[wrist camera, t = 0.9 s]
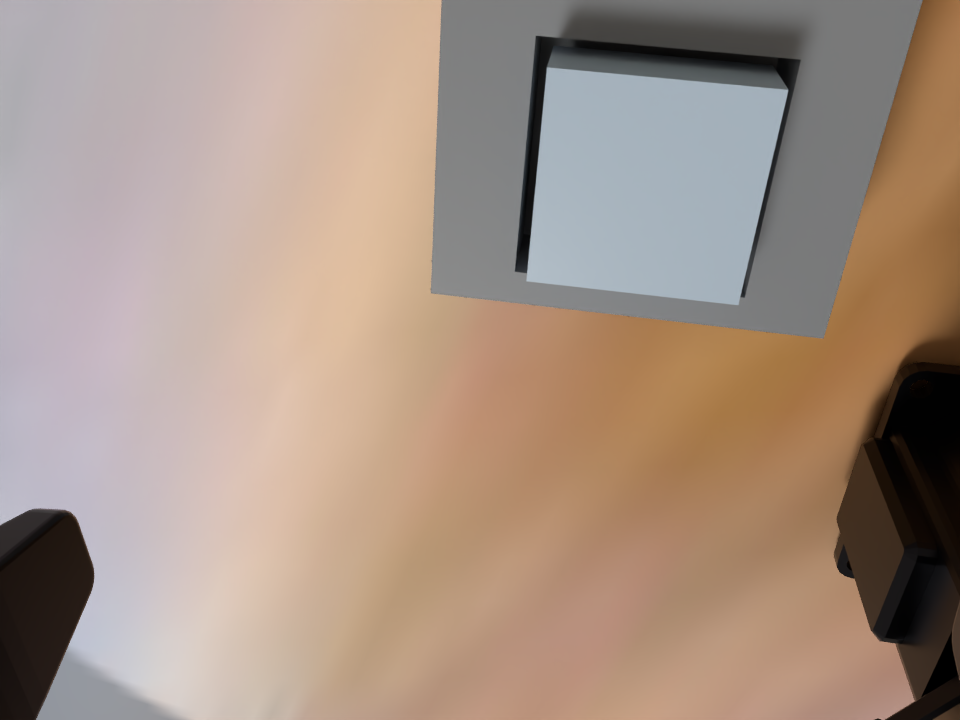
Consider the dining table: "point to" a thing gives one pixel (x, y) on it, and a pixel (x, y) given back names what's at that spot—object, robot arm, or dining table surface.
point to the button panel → (680, 33)
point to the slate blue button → (652, 172)
